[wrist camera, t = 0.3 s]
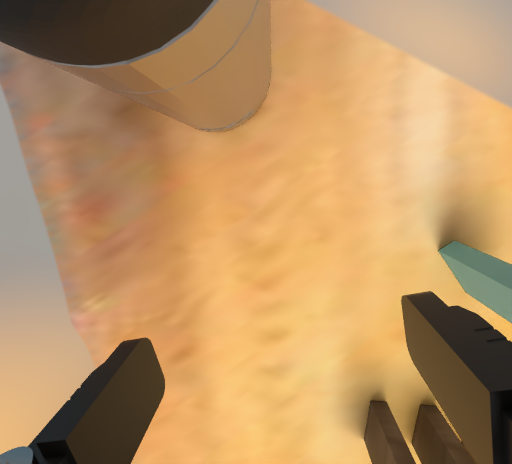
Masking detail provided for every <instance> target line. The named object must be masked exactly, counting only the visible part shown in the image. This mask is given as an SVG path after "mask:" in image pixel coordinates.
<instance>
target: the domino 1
mask: <svg viewBox="0 0 512 464" xmlns="http://www.w3.org/2000/svg"><path fill="white" fill-rule="evenodd" d="M364 441H365V444H366V447H367V450H368V453H369V456H370V459H371V462H372V464H416V463H415V461H414V459H413V457H412V455H411V452H410V450H409V448H408V446H407V444H406V442H405V440H404V438H403V436H402V434H401V431H400V429H399V427H398V425H397V423H396V421H395V419H394V417H393V415H392V413H391V411H390V408H389V406H388V404H387V402H381V401H370V407H369V413H368V419H367V425H366V431H365V437H364Z"/></svg>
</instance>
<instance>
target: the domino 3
mask: <svg viewBox="0 0 512 464" xmlns="http://www.w3.org/2000/svg"><path fill="white" fill-rule="evenodd" d="M439 253H440V254H441V256H442V257H443V259H444V260H445V262H446V263H447V265H448V266H449V268H450V269H451V271H452V272H453V274H454V275H455V277H456V278H457V280H458V281H459V283H460V284H461V286H462V287H463V289H464V290H465V292H466V293H467V294H469V295H470V296H472V297H473V298H475V299H476V300H478V301H479V302H481V303H482V304H484V305H485V306H487V307H488V308H490V309H491V310H493V311H494V312H496V313H497V314H499V315H500V316H502V317H503V318H505V319H506V320H507V321H509V322H510V323H512V265H511V264H509V263H507V262H504V261H502V260H500V259H497V258H495V257H493V256H490V255H488V254H486V253H483V252H481V251H478V250H476V249H474V248H471V247H469V246H467V245H464V244H462V243H460V242H457V241H455V240H454V241H453V242H451V243H450V244H448V245H446V246H445V247H443V248H442V249H440V250H439Z"/></svg>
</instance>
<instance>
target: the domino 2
mask: <svg viewBox="0 0 512 464" xmlns="http://www.w3.org/2000/svg"><path fill="white" fill-rule="evenodd" d="M412 445H413V447H414V449H415V451H416V453H417V455H418V457H419V459H420V461H421V463H422V464H475V463H474V461H473V460H472V458H471V457H470V456H469V454H468V453H467V451H466V450H465V448H464V447H463V445H462V444H461V442H460V441H459V439H458V438H457V436H456V435H455V433H454V432H453V430H452V429H451V427H450V426H449V424H448V423H447V421H446V420H445V418H444V417H443V415H442V414H441V412H440V411H439V409H438V408H437V406H431V405H420V408H419V412H418V417H417V421H416V426H415V431H414V435H413V440H412Z"/></svg>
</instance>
